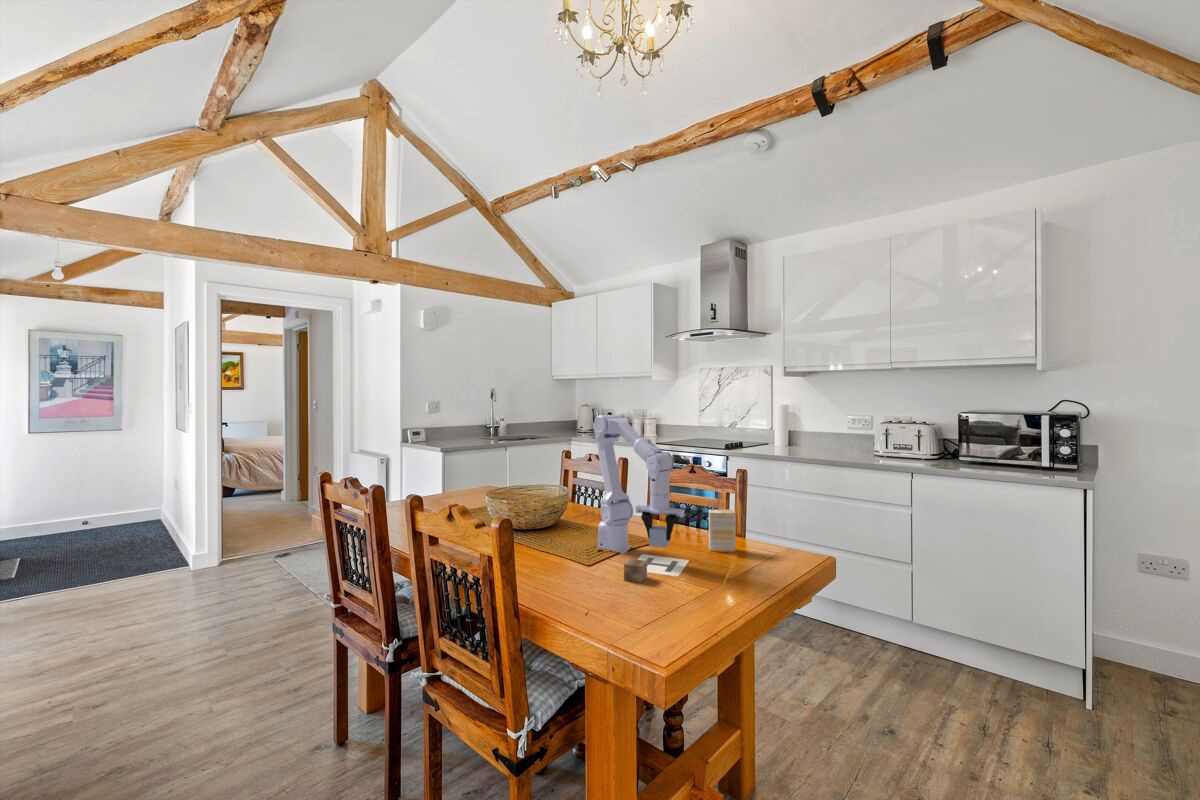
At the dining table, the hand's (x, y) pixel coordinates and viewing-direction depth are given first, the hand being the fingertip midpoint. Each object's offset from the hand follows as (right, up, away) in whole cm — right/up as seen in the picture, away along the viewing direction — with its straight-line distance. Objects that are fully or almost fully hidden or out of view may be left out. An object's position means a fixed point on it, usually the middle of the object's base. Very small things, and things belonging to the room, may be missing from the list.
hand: (659, 538), depth 162 cm
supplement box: (+22, -8, +15) cm, 28 cm away
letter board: (0, -8, 0) cm, 8 cm away
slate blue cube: (0, -2, 0) cm, 2 cm away
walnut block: (-8, -9, -11) cm, 16 cm away
